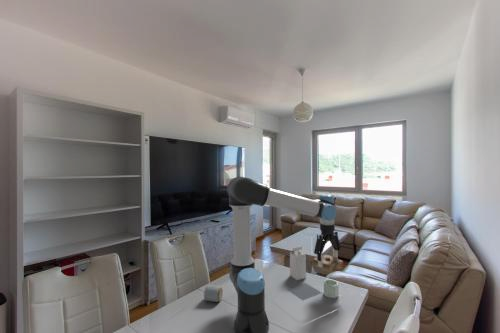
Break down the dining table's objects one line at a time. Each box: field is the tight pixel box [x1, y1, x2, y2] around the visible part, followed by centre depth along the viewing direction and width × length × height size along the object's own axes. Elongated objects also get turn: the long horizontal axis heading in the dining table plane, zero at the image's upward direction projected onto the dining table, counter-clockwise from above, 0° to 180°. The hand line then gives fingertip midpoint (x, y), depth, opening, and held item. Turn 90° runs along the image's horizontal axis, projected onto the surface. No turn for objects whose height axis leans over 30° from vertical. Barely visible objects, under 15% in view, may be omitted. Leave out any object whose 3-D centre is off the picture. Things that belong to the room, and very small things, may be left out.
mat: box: [286, 282, 322, 301], centre depth 133 cm, size 14×13×1 cm
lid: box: [312, 254, 344, 274], centre depth 131 cm, size 11×11×5 cm
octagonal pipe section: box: [323, 278, 340, 299], centre depth 130 cm, size 7×7×7 cm
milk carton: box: [289, 246, 307, 281], centre depth 151 cm, size 7×7×19 cm
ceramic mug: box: [203, 284, 223, 303], centre depth 128 cm, size 11×8×8 cm
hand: (328, 264), depth 130 cm, fingers closed on lid, 11 cm apart
